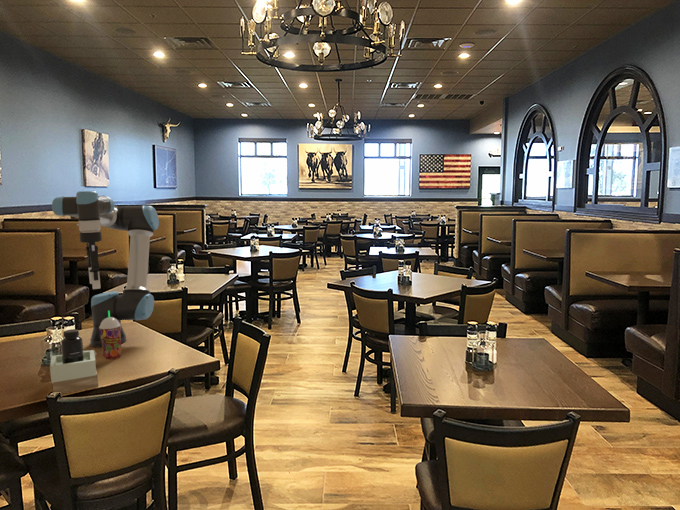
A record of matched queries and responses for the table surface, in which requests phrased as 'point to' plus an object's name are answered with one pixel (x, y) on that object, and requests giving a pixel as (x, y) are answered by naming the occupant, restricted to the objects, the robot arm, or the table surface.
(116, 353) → the smoothie
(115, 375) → the table surface
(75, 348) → the supplement bottle
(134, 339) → the table surface
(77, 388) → the tower base block
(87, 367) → the tower top block
